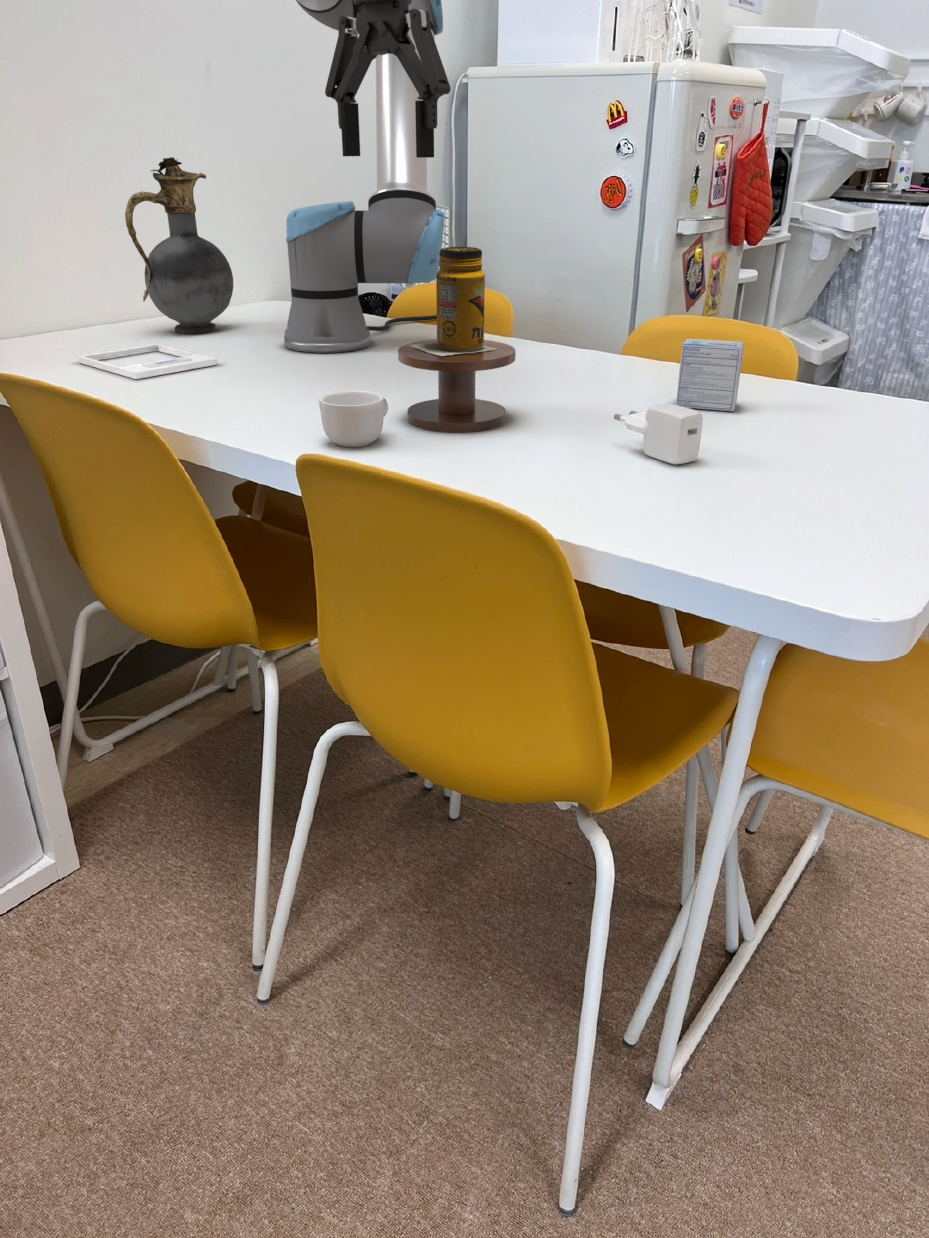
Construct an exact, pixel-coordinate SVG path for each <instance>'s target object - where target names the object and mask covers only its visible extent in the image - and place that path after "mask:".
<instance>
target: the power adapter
mask: <svg viewBox="0 0 929 1238" xmlns="http://www.w3.org/2000/svg"><path fill="white" fill-rule="evenodd" d="M613 419H614V420H616V421H619V422H623V423H624V426H625V428H626V429H627V430H630V431H632V432H636V433H638V434H642V435H643V442H642V443H643V444H642V445H643V446H642V447H643V448H642V450H643V453H644V454H645V455H646V456H648V457H651V458H653V459H656V460H657V461H658V460H659V461H662V462H665V463H667V464H671V465H682V464H686V463H691V462H694V461H696V460H697V458H698V456H699V453H700V447H701V439H702V431H703V419H704V418H703V415H702V413H701V412H700V411H698V410H696V409H694V408H686V407H683V406H679V405H676V403H663V404H657V405H654V406H650V407H648V408H647V410H646V411H640V412H638V411H636V410H630V411H629V413H628V416H625V415H623V414H619V413H615V414H614V415H613Z"/></svg>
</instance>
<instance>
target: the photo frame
mask: <svg viewBox="0 0 929 1238" xmlns="http://www.w3.org/2000/svg"><path fill="white" fill-rule="evenodd" d="M155 351H156V352H161V353H164V354H169V355H172V356H176V357H173V358H168V359H167V358H166V359H162V360H156V361H150V362H144V363H137V364H132V365H126V366H118V365H114V364H110V363H107V362H104V361H100V360H106V359H112V358H113V359H114V358H120V357H125V356H131V355H136V354H138V355H139V354H143V353H149V352H155ZM76 357H77V362H78V363H79V364H82V365H86V366H90V367H92V368H96V369H100V370H103V371H107V372H110V373H113V374H117V375H121V376H123V377H127V378H131V379H134V380H140V379H145V378H150V377H157V376H161V375H167V374H172V373H177V372H178V373H179V372H183V371H188V370H195V369H199V368H200V369H201V368H205V367H212V366H216V365H218V359H217V357H211V356H208V355H203V354H200V353H195V352H191V351H188V350H183V349H179V348H175V347H170V346H166V345H162V344H158V343H154V344H148V345H142V346H135V347H129V348H122V349H116V350H110V351H104V352H98V353H91V354H84V355H78V356H77V355H76Z"/></svg>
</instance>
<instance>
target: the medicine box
mask: <svg viewBox="0 0 929 1238" xmlns="http://www.w3.org/2000/svg"><path fill="white" fill-rule="evenodd" d="M744 346H745V343H744V342H743V341H735V340H720V339H703V338H687V339H686V340H684V342H683V343H682V345H681V351H680V360H679V361H680V362H679V369H678V371H679V372H678V379H677V392H676V399H675V405H679V406H683V407H686V408H690V409H699V410H712V411H721V412H734V411H735V409H736V406H737V401H738V394H739V386H740V379H741V378H740V377H741V372H742V363H743V362H742V361H743V355H744V348H745V347H744Z"/></svg>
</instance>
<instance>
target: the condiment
mask: <svg viewBox="0 0 929 1238" xmlns="http://www.w3.org/2000/svg"><path fill="white" fill-rule="evenodd" d="M439 255H440V260H439V270H438V273H437V275H436V278H435V281H436V283H435V285H436V289H435V291H436V292H435V293H436V315H437V319H436V339H437V342H438V343H430V344H416V345H411V346H414V347H415V348H417V349H420V350H422V351H425V352H428V353H432V354H435V355H439V356H446V355H454V354H461V353H475V352H482V351H488V350H490V351H491V350H495V349H498V348H493V347H488V346H485V345H482V344H483V342H484V340H485V285H486V275H485V272H484V271H483V269H482V267H483V262H482V258H483V251H482V249H481V248H479V247H473V246H447V247H442V249H441V250H440V252H439Z"/></svg>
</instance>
